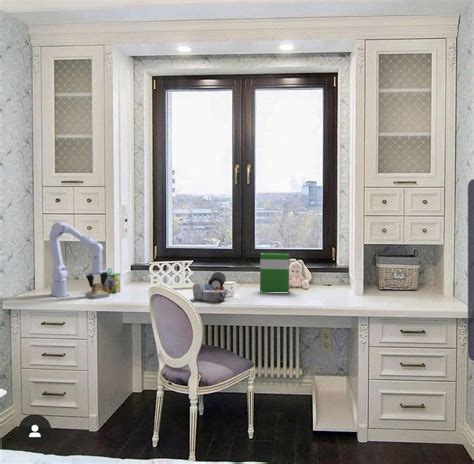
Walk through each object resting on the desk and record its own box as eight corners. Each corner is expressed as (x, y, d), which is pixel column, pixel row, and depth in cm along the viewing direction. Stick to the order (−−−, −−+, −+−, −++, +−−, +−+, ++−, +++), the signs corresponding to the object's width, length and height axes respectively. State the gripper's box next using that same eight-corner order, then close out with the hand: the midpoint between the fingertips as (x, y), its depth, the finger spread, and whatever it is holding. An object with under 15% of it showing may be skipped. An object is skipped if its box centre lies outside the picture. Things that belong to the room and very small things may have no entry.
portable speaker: (223, 293, 361) (223, 277, 360) (207, 293, 361) (207, 277, 360) (225, 286, 386) (225, 271, 386) (210, 286, 387) (211, 271, 386)
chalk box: (115, 293, 357) (114, 269, 356) (101, 292, 359) (100, 269, 358) (121, 290, 366) (120, 267, 365) (107, 290, 368) (107, 267, 367)
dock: (85, 296, 346) (85, 293, 346) (99, 294, 353) (99, 291, 353) (94, 298, 339) (94, 295, 339) (109, 296, 346) (109, 293, 346)
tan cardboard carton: (90, 293, 347) (90, 283, 346) (97, 292, 350) (97, 283, 350) (96, 294, 342) (96, 285, 342) (104, 293, 346) (104, 284, 345)
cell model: (198, 279, 347) (230, 281, 340) (198, 297, 347) (229, 300, 341) (190, 282, 334) (223, 285, 328) (189, 301, 335) (222, 304, 329)
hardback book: (288, 291, 369) (289, 253, 367) (288, 293, 362) (288, 255, 360) (261, 290, 371) (261, 253, 369) (260, 292, 364) (260, 254, 362)
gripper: (89, 265, 337) (89, 288, 338) (111, 263, 347) (111, 286, 348) (83, 264, 342) (83, 287, 343) (104, 262, 352) (104, 284, 353)
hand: (97, 286), depth 346 cm, fingers open, 7 cm apart
